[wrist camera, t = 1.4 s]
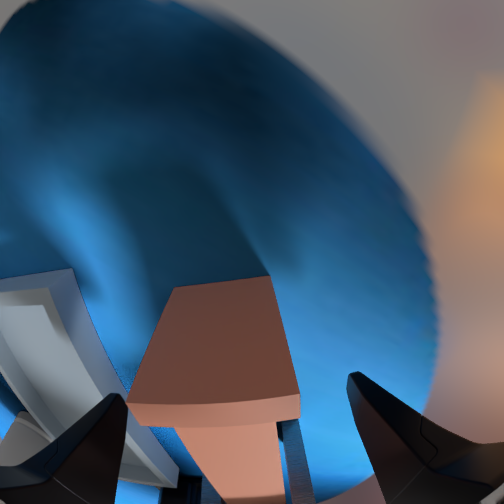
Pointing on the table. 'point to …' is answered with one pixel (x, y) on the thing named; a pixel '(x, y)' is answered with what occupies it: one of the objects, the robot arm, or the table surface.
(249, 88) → the table surface
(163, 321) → the pink curved block
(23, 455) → the travel mug
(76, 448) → the robot arm
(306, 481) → the bracket
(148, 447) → the tray
